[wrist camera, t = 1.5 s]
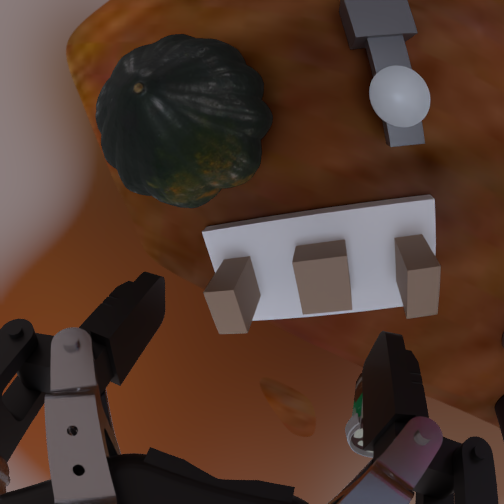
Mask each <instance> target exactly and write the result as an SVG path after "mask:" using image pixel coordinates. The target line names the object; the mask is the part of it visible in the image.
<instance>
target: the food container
mask: <svg viewBox="0 0 504 504" xmlns="http://www.w3.org/2000/svg"><path fill="white" fill-rule="evenodd" d="M345 431H346V437H347V441H348V444H349V445H350V448H351V449H352V450H353V451H354V452H356V453H358V454H360V455H362V456H367V457H373V451H366V450H363V390H362V373H361V374H360V376H359V378H358V380H357V381H356V389H355V398H354V407H353V414H352V417H351V419H350V420H349V421H348V423H347V424H346V428H345Z"/></svg>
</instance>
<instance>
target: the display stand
mask: <svg viewBox="0 0 504 504" xmlns="http://www.w3.org/2000/svg"><path fill="white" fill-rule="evenodd" d="M202 234H203V237H204V240H205V243H206V246H207V249H208V252H209V255H210V258H211V261H212V264H213V267H214V270H215V274H214V276H213V278H212V279H211V281H210V282H209V284H208V286H207V287H206V289H205V291H204V292H203V293H204V296H205V299H206V301H207V304H208V306H209V309H210V311H211V314H212V317H213V320H214V322H215V325H216V327H217V330H218V332H219V334H237V333H248V331H249V327H250V325H251V322H252V321H255V320H272V319H286V318H299V317H311V316H322V315H332V314H342V313H351V312H360V311H369V310H377V309H386V308H393V307H401V306H403V307H404V310H405V314H406V318H407V319H409V318H416V317H422V316H429V315H435V314H437V312H438V301H439V288H440V271H441V266H440V264H439V262H438V260H437V258H436V257H435V253H436V228H435V199H434V198H433V197H432V196H431V195H430V194H429V195H421V196H412V197H404V198H396V199H388V200H380V201H373V202H365V203H358V204H350V205H343V206H336V207H329V208H322V209H315V210H308V211H301V212H295V213H288V214H281V215H275V216H269V217H262V218H256V219H250V220H244V221H237V222H231V223H225V224H219V225H214V226H208V227H206V228H205V229H204V230H203V231H202Z"/></svg>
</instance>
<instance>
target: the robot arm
mask: <svg viewBox="0 0 504 504" xmlns="http://www.w3.org/2000/svg"><path fill="white" fill-rule="evenodd" d="M164 315H165V280H164V277H162V276H158V275H154V274H151V273H148V272H143V273H142V274H141V275H140V276H139V277H138V278H137V279H136V280H135V281H134V282H131V281H128V282H126V283H124V284H122V285H120V286H118V287H116V288H115V290H114V291H113V292H112V293H111V294H110V295H109V297H107V298H106V299H105V300H104V301H103V303H102V304H100V305H99V306H98V307H97V308H96V310H95V311H94V312H93V313H92V314H91V315H90V316H89V317H88V318H87V319H86V320H85V321H84V323H83V324H82V325H81V326H80V327H79V328H67V329H64V330H62V331H60V332H58V333H57V334H56V335H55V336H51V335H44V334H39V333H35V331H34V328H33V326H32V324H31V323H30V322H29V321H27V320H25V319H15V320H12V321H9V322H8V323H6V324H5V325H4V326H3V327H2V328H1V329H0V504H308V503H307V502H306V501H304V500H302V499H300V498H298V497H296V496H294V495H293V493H294V488H295V487H291V486H285V485H280V484H274V483H269V482H264V481H259V480H222V479H217V478H215V477H213V476H211V475H209V474H208V473H206V472H204V471H202V470H200V469H199V468H197V467H195V466H194V465H192V464H190V463H189V462H187V461H185V460H184V459H181V458H178V457H175V456H172V455H169V454H167V453H164V452H161V451H159V450H156V449H154V448H151V447H150V449H149V451H148V453H147V455H146V454H122V455H121V453H120V449H119V446H118V443H117V440H116V437H115V433H114V428H113V424H112V419H111V414H110V409H109V403H108V398H107V392H106V387H107V385H108V384H109V382H110V381H111V382H113V383H115V384H118V385H121V384H122V382H123V381H124V379H125V378H126V376H127V375H128V373H129V372H130V370H131V369H132V367H133V366H134V364H135V362H136V361H137V360H138V358H139V356H140V355H141V353H142V352H143V351H144V349H145V347H146V346H147V344H148V343H149V342H150V340H151V339H152V337H153V336H154V334H155V333H156V331H157V329H158V328H159V327H160V325H161V323H162V321H163V318H164ZM502 346H503V348H504V333H503V337H502ZM16 373H17V375H18V376H17V377H16V378H15V380H14V381H13V382H12V384H11V385H10V386H9V388H8V389H7V390H6V392H5V393H4V394H3V396H2V393H3V390H4V389H5V387H6V386H7V384H8V383H9V382H10V380H11V379H12V378H13V377H14V375H15V374H16ZM362 390H363V450H366V451H373V459H372V460H371V461H370V462H369V463H368V464H367V465H366V466H365V467H364V468H363V469H362V470H361V471H360V472H359V474H358V475H357V476H356V477H355V478H354V479H353V480H352V481H351V482H350V483H349V484H348V485H347V486H346V487H345V488H344V489H343V490H342V491H341V492H340V493H339V494H338V495H337V496H335V497H334V498H333V499H332V500H331V501H330V502H328V504H409V503H410V501H411V500H412V498H413V496H414V492H413V491H415V492H416V504H498V494H497V484H496V475H495V467H494V460H493V453H492V450H491V447H490V446H489V444H488V443H487V442H486V441H485V440H484V439H482V438H480V437H470V438H468V439H467V440H466V441H465V442H464V443H462V444H461V443H458V442H456V441H453V440H450V439H447V438H445V437H443V436H442V432H441V429H440V427H439V426H438V425H437V424H436V423H435V422H434V421H433V420H431V419H429V416H428V410H427V404H426V398H425V393H424V388H423V385H422V377H421V375H420V368H419V363H418V361H417V359H416V358H415V356H414V355H413V353H412V352H411V351H409V350H406V349H405V345H404V340H403V336H402V335H400V334H395V333H390V332H385V331H382V332H381V333H380V334H379V336H378V338H377V340H376V342H375V344H374V346H373V348H372V349H371V351H370V353H369V355H368V357H367V359H366V361H365V363H364V366H363V371H362ZM44 403H45V424H46V438H47V449H48V458H49V466H50V474H51V480H47V481H44V482H41V483H38V484H35V485H32V486H29V487H25V488H22V489H18V490H15V491H11V492H7V493H6V486H8V485H9V483H10V477H9V467H8V464H7V462H8V460H9V458H10V457H11V455H12V453H13V452H14V450H15V448H16V446H17V445H18V443H19V442H20V440H21V439H22V437H23V435H24V434H25V432H26V430H27V429H28V427H29V426H30V424H31V422H32V421H33V419H34V418H35V416H36V415H37V413H38V411H39V410H40V409H41V407H42V406H43V404H44Z"/></svg>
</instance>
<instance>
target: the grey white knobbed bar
mask: <svg viewBox="0 0 504 504" xmlns="http://www.w3.org/2000/svg"><path fill="white" fill-rule="evenodd" d="M339 14H340V17H341V20H342V23H343V27H344V30H345V33H346V37H347V40H348V44H349V47H350V50H351V49H359V48H366V51H367V55H368V59H369V63H370V66H371V70H372V75H373V79H372V81H371V83H370V87H369V98H370V102H371V105H372V107H373V109H374V111H375V112H376V114H377V115H378V116H379V117H380V118H381V119H382V122H383V127H384V133H385V139H386V144H387V145H389V146H390V147H395V146H404V145H414V144H424V143H425V140H424V133H423V126H422V120H423V119H424V117H425V116H426V115H427V113H428V110H429V107H430V93H429V89H428V87H427V85H426V83H425V81H424V80H423V79H422V77H421V76H420V75H419V74H418V73H416V72H415V71H413V70H412V69H411V65H410V61H409V57H408V53H407V49H406V45H405V41H407V40H408V39H410V38H411V37H413V36H414V35H415V34H417V29H416V26H415V23H414V20H413V16H412V13H411V10H410V7H409V4H408V1H407V0H340V8H339Z"/></svg>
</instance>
